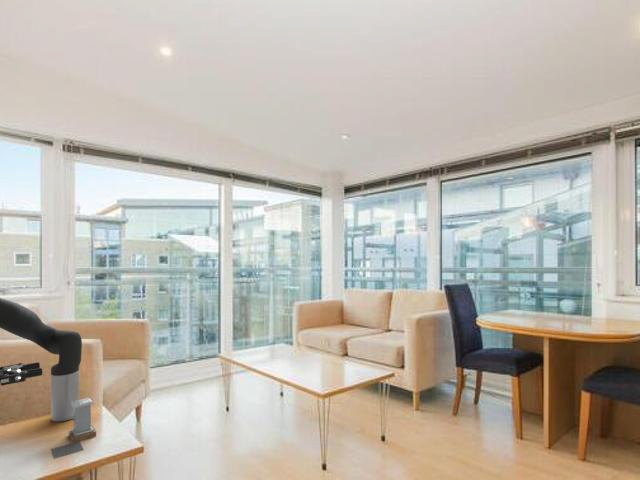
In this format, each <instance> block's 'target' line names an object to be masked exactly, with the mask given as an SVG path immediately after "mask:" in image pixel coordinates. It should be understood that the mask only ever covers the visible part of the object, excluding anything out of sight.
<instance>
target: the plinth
mask: <svg viewBox="0 0 640 480" xmlns="http://www.w3.org/2000/svg"><path fill="white" fill-rule="evenodd" d="M91 426H92V428H93V432H90V433H86V434H82V435H79V436H75V437H74V436H73V434H72V432H71V429H69V430H68V437H69V439H70V441H71V443H74V442H78V441H80V442H81V441H83V440H86V439H91V438H94V437H97V430H96V429H95V428H94V425H92V424H91Z"/></svg>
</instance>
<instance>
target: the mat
mask: <svg viewBox="0 0 640 480" xmlns="http://www.w3.org/2000/svg"><path fill="white" fill-rule="evenodd" d="M82 451H85V449H84V447H83V445H82V443H81V440H80V441H76V442H73V443H72V442H71V443H68V444H67V443H66V444H64V445H60V446H57V447H53V448H50V453H51V455H52V457H53V460H55V459H57V458H62V457H65V456H68V455H71V454H76V453H79V452H82Z"/></svg>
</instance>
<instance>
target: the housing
mask: <svg viewBox="0 0 640 480" xmlns="http://www.w3.org/2000/svg"><path fill="white" fill-rule="evenodd" d="M71 405H72V406H73V414H74V418H73V427H72V428H71V429H70V430H71V432H72V434H73V436H74V437H75V436H79V435H82V434H86V433H90V432H93V428H92V426H93V425H92V424H91V423H92V419H91V418H92V417H91V415H92V413H91V412H92V411H91V410H92V409H91V405H94V401H93V400H92V398H91V397H86V398H79V400H76V401H71ZM91 425H92V426H91Z"/></svg>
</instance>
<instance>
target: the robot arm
mask: <svg viewBox="0 0 640 480" xmlns="http://www.w3.org/2000/svg"><path fill="white" fill-rule="evenodd" d="M0 329H2V330H4V331H6V332H7V333H10V334H12V335H15V336H17V337H20V338H22V339H24V340H27V341H30V342H32V343H34V344H36V345H37V346H39V347H41V348H42V349H44V350H45V351H47V352H48V353H50V354H52V355H57V356H58V361H57V362H58V363H56V364H53V365H52V367H51V368H50V403H51V404H50V407H51V408H50V410H51V412H50V419H51V421H52V422H55V423H56V422H64V421H69V420H72V419H73V420H74V414H73V406H72V405H71V401H76V400H80V371H79V370H80V365H81V363H82V349H83V348H82V347H83V340H82V336H81V334H80V332H77V331H76V330H75V331H74V330H60V329H58V328H57V329H56V328H55V327H52V326H49V325H47V324H45V322H43V321H42V320H41V318H40V317H39V315H37V313H36V312H34V311H33V310H30V309H29V308H27V307H25V306H23V305H22V304H19V303H17V302H15V301H11V300H8V299H5V298H1V297H0ZM42 375H43V369H42V367H41V364H40V362H38V361H36V362H32V363H21V362H20V363H15V364H10V365H5V366H4V365H3V366H0V386H3V387H4V386H6V385H12V384H17V383H22V382H23V383H24V382H25V381H26V380H28V379H29V378H30V379H31V378H35V377H39V376H42Z"/></svg>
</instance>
